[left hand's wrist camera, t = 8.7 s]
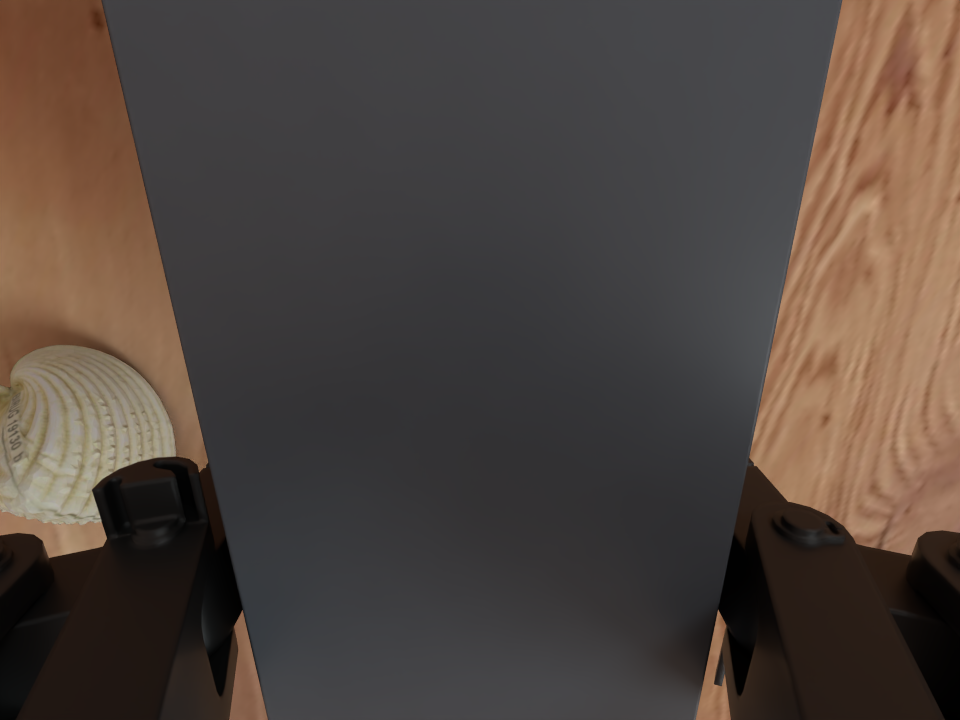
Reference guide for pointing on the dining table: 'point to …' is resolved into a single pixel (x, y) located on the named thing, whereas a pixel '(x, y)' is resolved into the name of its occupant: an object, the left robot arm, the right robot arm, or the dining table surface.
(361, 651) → the beam
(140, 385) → the seashell
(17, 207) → the dining table surface
